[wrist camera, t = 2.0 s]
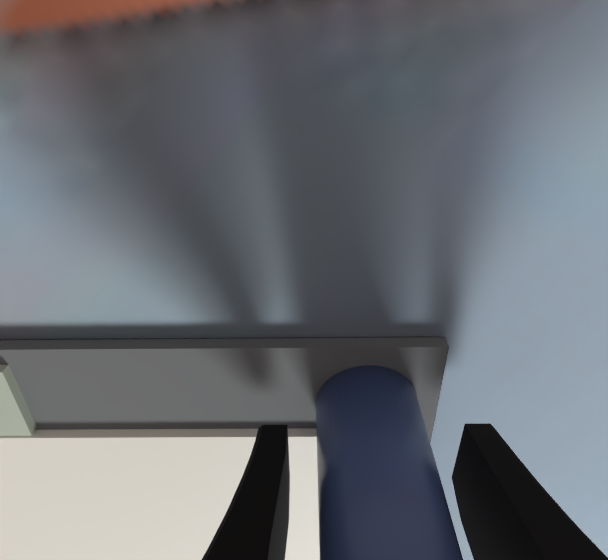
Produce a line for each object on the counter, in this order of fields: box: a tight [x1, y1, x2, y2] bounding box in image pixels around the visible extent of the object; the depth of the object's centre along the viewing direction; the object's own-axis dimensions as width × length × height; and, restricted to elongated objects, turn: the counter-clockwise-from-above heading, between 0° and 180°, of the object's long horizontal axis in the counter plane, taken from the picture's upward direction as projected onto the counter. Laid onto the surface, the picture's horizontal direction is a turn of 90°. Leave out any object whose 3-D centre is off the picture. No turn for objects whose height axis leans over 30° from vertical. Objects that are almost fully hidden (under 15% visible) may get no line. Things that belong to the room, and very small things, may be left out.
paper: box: [0, 428, 320, 560], centre depth 15 cm, size 12×8×1 cm, turn 91°
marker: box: [316, 365, 463, 560], centre depth 10 cm, size 3×3×7 cm
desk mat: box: [0, 337, 449, 441], centre depth 15 cm, size 16×12×1 cm
